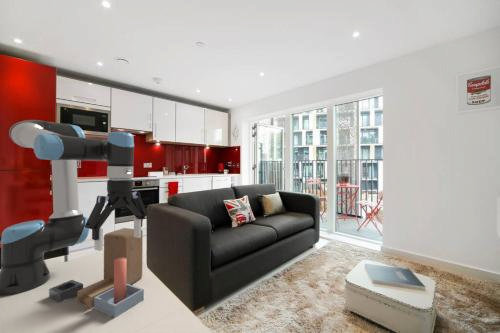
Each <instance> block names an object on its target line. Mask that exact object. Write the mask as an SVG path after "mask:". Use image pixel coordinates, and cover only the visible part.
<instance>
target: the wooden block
mask: <svg viewBox="0 0 500 333" xmlns="http://www.w3.org/2000/svg"><path fill="white" fill-rule="evenodd" d="M143 235H144V234H143V230H142V229H141V238H137V237H134V228H127V227H122V228H120V229H119V228H118V229H117V230H113V231H110V232H108V233H105V234H103V279H106V278H109V279H112V280H114V260H115V259H118V258H127V267H126V284H129V285H133V284H134V283H136V282H137V281H139V280H140V279H142V277H143V252H144V251H143V250H144V249H143V242H144V240H143V238H144V237H143Z"/></svg>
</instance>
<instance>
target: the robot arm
mask: <svg viewBox="0 0 500 333" xmlns="http://www.w3.org/2000/svg"><path fill="white" fill-rule="evenodd" d="M8 133H9V134H8V135H9V138H10V140H11V141H12V142H13V143H14V144H16V145H18V146H19V147H22V148H27V149H28V148H29V149H33V152H34V154H35V157H36V158H37V159H39V160H49V161H51V175H52V176H51V177H52V178H51V179H52V181H51V182H52V200H53V201H52V204H53V205H52V208H53V213H52V214H51V215H50V216H49V217H48V222H45V221H44V220H43V219H35V220H28V221H24V222H20V223H16V224H13V225H11V226H10V225H9V226H8V227H6V228H4V229H3V231H2V233H1V237H0V244H1V246H0V247H1V250H0V251H1V253H0V254H1V255H0V256H1V257H0V259H1V260H0V264H1V265H0V266H1V267H0V296H7V295H14V294H19V293H22V292H27V291H29V290H33V289H36V288H38V287H40V286H42V285H44V284H45V283H47V282H48V281H49V280H50V279H51V277H50V276H51V274H50V270H49V268H48V266H47V263H46V261H45V253H47V252H53V251H55V250H59V249H63V248H67V247H74V246H76V245H79V244H82V243H83V242H85V241H86V240H87V238H88V236H89V233H90V230H91V239H92V241H94V249H93V250H95V251H99V252H101V251H104V231H103V230H104V228H102V226H103V225H104V224H105V222H106V221H107V219H108V218H109V216H110V215H111V214H112V212H113V211H115V210H116V209H121V208H127V209H128V210H129V212H131V213H132V214H133V216H135V218H134V219H133V229H134V237H137V238H141V230H142V228H143V220H145V218H146V217H147V216H148V214H149V213H148V212H147V211H148V210H147V209H146V206H145V205H144V202H143V200H142V197H141V192H140V191H133V190H134V180H133V178H134V159H135V157H134V156H135V154H134V153H135V142H134V138H135V137H134V135H133V133H130V132H123V131H110V132H108V134H107V139H104V138H103V139H102V138H101V139H99V138H93V137H92V138H91V137H89V138H88V137H86V135H85V132H84V130H83V129H82V128H81V127H80V126H78V125H74V124H70V123H63V122H54V121H45V120H39V119H27V120H22V121H18V122H16V123H13V125H12V126H11V127H10V128H9V131H8ZM78 161H91V162H107V165H106V166H107V170H106V171H107V172H106V178H107V179H108V180H107V181H106V191H107V195H106V196H104V195H98V196H96V202H95V204H94V206H93V209H92V210H91V213H90V214H89V217H87V216H84V213H83V212H82V211H80V208H79V206H80V205H79V187H78V186H79V185H78V184H79V183H78V164H77V162H78ZM132 199H133V200H132ZM133 201H134V202H133Z"/></svg>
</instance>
